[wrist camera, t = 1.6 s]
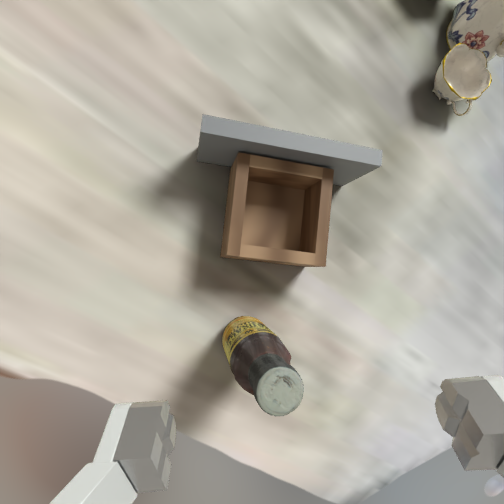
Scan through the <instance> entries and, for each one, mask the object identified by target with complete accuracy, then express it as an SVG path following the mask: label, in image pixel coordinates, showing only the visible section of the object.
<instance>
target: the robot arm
mask: <svg viewBox="0 0 504 504" xmlns="http://www.w3.org/2000/svg"><path fill="white" fill-rule="evenodd" d="M440 387H441V389H442V391H443V392H442V393H441V394H439V395H438V396H437V398H436V402H435V407H436V414H437V417H438V420H439V422H440V424H441V426H442V428H443V430H444V431H446V432H447V433H448V434H450V435H451V436H452V437H453V440H452V447H453V449H454V451H455V453H456V455H457V457H458V459H459V461H460V462H461V464H462V466H463V468H464V470H465V471H469V470H495V469H498V470H497V472H498V473H499V474H500V475H501V476H502V477H503V478H504V378H503V377H501V376H499V375H492V376H481V377H479V376H475V377H465V378H454V379H445V380H444V381H442V384H441V386H440ZM169 410H170V405H169V403H168V401H167V400H165V401H150V402H131V403H118V404H115V406H114V407H113V409H112V410H111V413H110V416H109V419H108V422H107V424H106V427H105V430H104V433H103V435H102V438H101V440H100V443H99V446H98V449H97V451H96V454H95V457H94V460H93V462H92V463H88V464H86V465H85V466H84V467H83V468H82V470H81V471H80V472H79V473H78V474H77V475H76V476H75V477H74V478H73V479H72V480H71V481H70V482H69V483H68V484H67V486H66V487H65V488H64V489H63V490H62V491H61V492H60V493H59V494H58V495H57V496H56V497H55V498H54V499H53V501H52V502H51V503H50V504H132V503H133V501H134V500H135V498H136V497H137V493H144V492H155V491H163V490H164V491H165V490H167V486H168V481H169V475H170V469H171V463H170V460H169V458H168V455H169V454H170V453H171V452H172V451H173V449H174V447H175V440H176V423H175V418H174V416H173V415H172V414H170V413H169Z"/></svg>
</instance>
